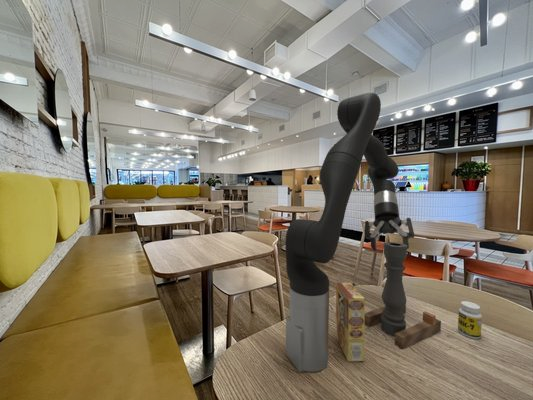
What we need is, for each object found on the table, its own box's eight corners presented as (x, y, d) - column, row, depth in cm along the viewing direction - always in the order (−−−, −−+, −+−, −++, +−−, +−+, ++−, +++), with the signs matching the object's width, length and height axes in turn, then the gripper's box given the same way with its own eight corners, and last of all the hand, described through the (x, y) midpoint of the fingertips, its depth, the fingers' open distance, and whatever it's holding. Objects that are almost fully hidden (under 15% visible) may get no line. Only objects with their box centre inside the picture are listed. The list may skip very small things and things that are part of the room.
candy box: (365, 362, 51) (366, 298, 51) (347, 362, 51) (348, 298, 51) (350, 336, 60) (351, 282, 60) (334, 337, 60) (335, 282, 59)
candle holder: (398, 324, 66) (401, 242, 65) (410, 338, 60) (413, 247, 58) (377, 323, 66) (379, 241, 65) (386, 336, 60) (388, 246, 59)
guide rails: (403, 350, 55) (404, 329, 55) (362, 322, 67) (362, 305, 66) (441, 331, 62) (442, 312, 62) (398, 309, 74) (399, 293, 74)
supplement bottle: (454, 331, 63) (455, 302, 62) (463, 326, 65) (464, 298, 64) (475, 341, 58) (477, 310, 58) (484, 336, 60) (485, 306, 60)
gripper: (362, 203, 79) (363, 245, 71) (408, 198, 72) (415, 244, 63) (366, 213, 84) (368, 254, 76) (410, 209, 77) (417, 254, 68)
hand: (389, 249), depth 70 cm, fingers open, 8 cm apart
